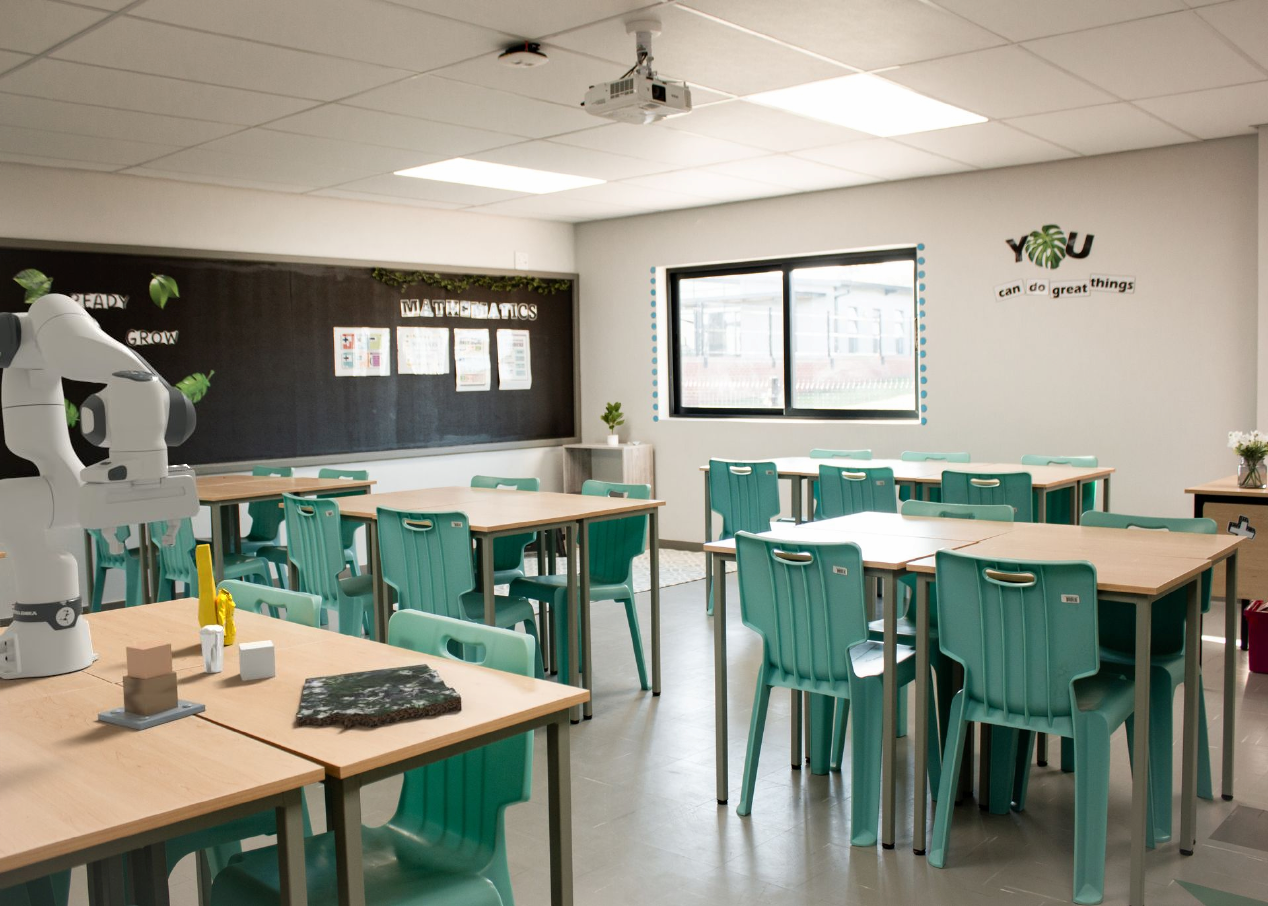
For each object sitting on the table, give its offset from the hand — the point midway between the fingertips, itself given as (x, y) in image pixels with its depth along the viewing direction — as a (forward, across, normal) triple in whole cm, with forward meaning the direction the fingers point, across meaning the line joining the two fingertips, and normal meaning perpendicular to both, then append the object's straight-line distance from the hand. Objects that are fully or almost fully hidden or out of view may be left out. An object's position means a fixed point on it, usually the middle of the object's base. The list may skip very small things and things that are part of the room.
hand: (143, 549), depth 180 cm
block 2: (+27, 0, 0) cm, 27 cm away
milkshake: (+29, -24, -16) cm, 41 cm away
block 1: (+21, 0, 0) cm, 21 cm away
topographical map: (+29, -24, +27) cm, 46 cm away
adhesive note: (+29, -26, -6) cm, 39 cm away
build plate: (+28, 0, 0) cm, 28 cm away
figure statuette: (+29, -40, -37) cm, 61 cm away
